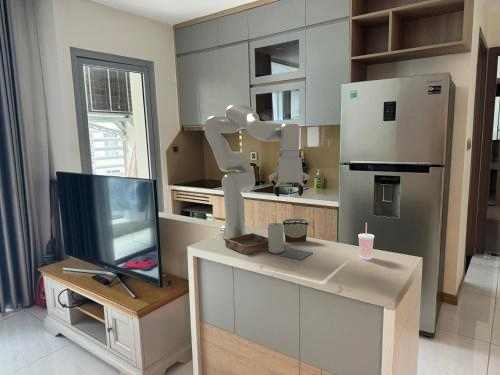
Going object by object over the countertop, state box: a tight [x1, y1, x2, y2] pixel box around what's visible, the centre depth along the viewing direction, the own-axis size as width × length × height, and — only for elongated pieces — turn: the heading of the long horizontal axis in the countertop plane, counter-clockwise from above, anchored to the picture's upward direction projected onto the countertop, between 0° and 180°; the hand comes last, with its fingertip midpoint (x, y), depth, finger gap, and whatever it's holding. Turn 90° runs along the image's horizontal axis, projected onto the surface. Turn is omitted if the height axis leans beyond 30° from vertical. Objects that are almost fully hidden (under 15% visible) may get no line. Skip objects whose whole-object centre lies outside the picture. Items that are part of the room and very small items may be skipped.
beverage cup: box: [357, 222, 375, 260], centre depth 140 cm, size 6×6×14 cm
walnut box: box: [224, 232, 269, 256], centre depth 158 cm, size 16×16×4 cm
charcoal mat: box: [279, 248, 313, 261], centre depth 147 cm, size 10×10×1 cm
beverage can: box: [267, 222, 285, 255], centre depth 149 cm, size 6×6×12 cm
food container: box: [281, 218, 310, 243], centre depth 166 cm, size 12×6×10 cm, turn 84°
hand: (288, 195), depth 148 cm, fingers open, 9 cm apart
